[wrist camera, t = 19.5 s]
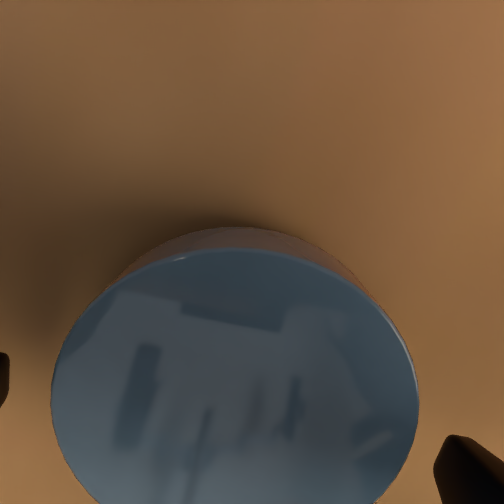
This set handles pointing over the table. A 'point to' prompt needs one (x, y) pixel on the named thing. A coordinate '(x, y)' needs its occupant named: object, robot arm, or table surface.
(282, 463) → the blue saucer
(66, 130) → the table surface
